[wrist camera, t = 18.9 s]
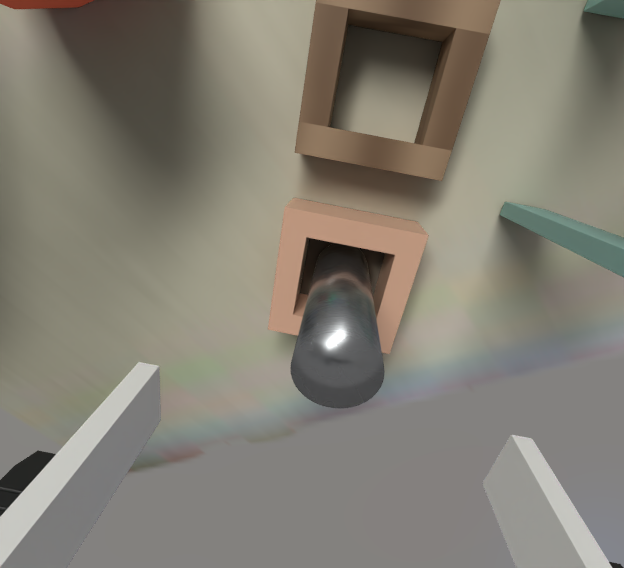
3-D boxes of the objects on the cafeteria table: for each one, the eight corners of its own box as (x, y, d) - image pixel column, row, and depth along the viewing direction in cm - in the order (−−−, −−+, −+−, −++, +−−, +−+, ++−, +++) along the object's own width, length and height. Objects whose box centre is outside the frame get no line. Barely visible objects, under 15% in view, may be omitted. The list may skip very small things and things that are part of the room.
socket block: (300, 150, 25) (294, 152, 22) (325, -18, 21) (322, -41, 18) (431, 176, 25) (442, 180, 22) (482, 11, 21) (503, -9, 18)
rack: (277, 306, 31) (267, 329, 27) (293, 197, 26) (284, 207, 23) (384, 328, 30) (389, 354, 27) (417, 221, 26) (428, 235, 23)
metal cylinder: (312, 285, 29) (284, 398, 17) (321, 237, 28) (298, 323, 15) (361, 295, 29) (371, 416, 17) (373, 248, 27) (395, 343, 15)
